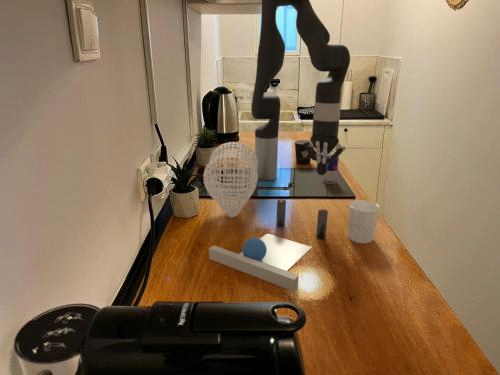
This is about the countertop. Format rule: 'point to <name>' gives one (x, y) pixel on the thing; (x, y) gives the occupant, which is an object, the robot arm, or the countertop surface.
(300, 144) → the coffee mug
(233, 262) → the stopper wall
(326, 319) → the countertop surface
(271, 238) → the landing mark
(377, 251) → the countertop surface
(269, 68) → the robot arm
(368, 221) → the white cup
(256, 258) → the ball
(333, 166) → the energy drink
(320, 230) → the right post
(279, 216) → the left post
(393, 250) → the countertop surface
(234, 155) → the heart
